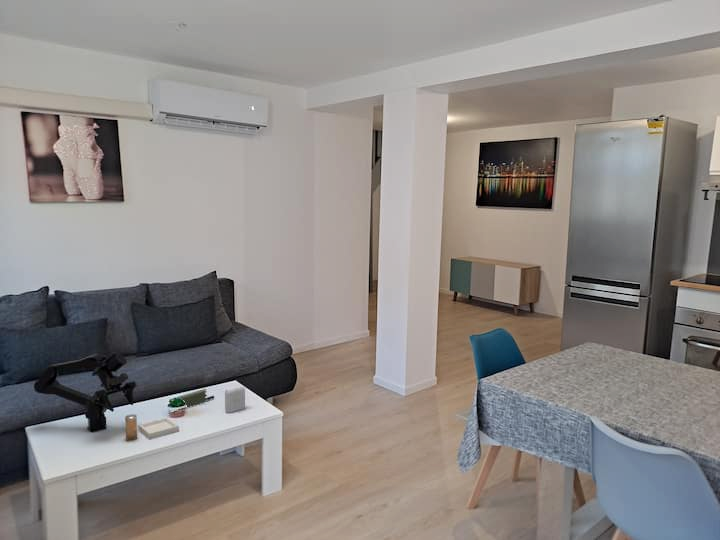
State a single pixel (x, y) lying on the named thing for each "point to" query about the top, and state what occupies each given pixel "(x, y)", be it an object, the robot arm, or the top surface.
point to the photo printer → (234, 398)
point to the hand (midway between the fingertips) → (123, 407)
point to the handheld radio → (194, 398)
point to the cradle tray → (158, 428)
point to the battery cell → (131, 427)
